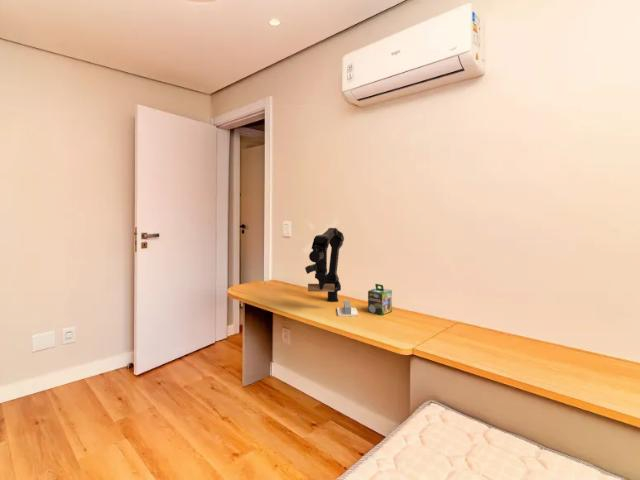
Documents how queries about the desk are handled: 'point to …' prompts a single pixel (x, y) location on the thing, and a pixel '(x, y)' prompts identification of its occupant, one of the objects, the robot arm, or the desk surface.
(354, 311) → the fulcrum
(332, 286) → the bar
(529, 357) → the desk surface
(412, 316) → the desk surface
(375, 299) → the chalk box
